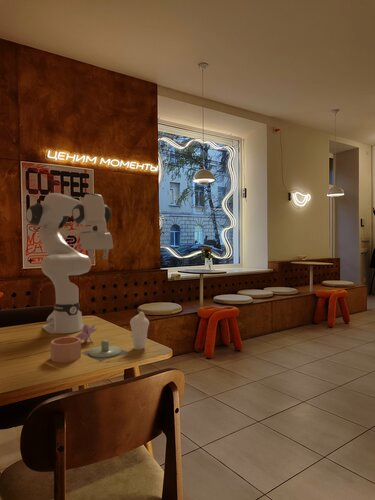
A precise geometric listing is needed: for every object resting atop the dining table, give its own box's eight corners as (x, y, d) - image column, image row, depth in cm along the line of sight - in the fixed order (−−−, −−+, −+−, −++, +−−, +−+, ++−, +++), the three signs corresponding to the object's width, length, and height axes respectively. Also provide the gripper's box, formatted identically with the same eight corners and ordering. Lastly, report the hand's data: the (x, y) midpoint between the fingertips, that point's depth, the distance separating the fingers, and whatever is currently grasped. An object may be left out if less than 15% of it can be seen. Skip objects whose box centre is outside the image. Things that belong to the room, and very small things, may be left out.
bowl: (45, 358, 139) (45, 340, 139) (71, 352, 148) (71, 335, 147) (59, 365, 132) (59, 346, 132) (86, 358, 140) (86, 340, 140)
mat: (80, 353, 146) (80, 352, 146) (109, 346, 156) (109, 345, 156) (100, 361, 136) (100, 360, 136) (129, 353, 146) (129, 352, 146)
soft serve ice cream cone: (130, 352, 148) (130, 313, 147) (128, 346, 156) (128, 310, 155) (150, 350, 150) (150, 312, 150) (147, 344, 158) (147, 309, 158)
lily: (101, 342, 166) (92, 323, 167) (107, 338, 156) (98, 318, 157) (76, 354, 159) (68, 334, 161) (81, 351, 150) (72, 330, 151)
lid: (82, 352, 146) (82, 341, 145) (109, 345, 155) (109, 334, 155) (100, 360, 137) (100, 347, 137) (127, 352, 146) (127, 340, 146)
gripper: (103, 230, 171) (106, 259, 170) (76, 228, 152) (79, 261, 151) (115, 229, 169) (117, 258, 168) (88, 226, 149) (91, 259, 149)
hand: (99, 259), depth 159 cm, fingers open, 8 cm apart
